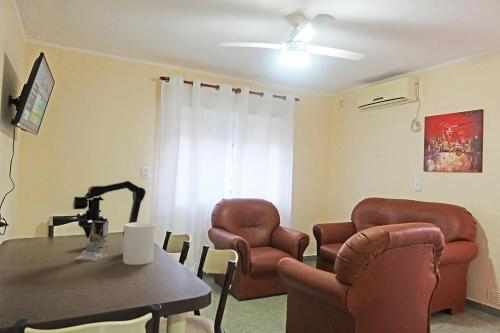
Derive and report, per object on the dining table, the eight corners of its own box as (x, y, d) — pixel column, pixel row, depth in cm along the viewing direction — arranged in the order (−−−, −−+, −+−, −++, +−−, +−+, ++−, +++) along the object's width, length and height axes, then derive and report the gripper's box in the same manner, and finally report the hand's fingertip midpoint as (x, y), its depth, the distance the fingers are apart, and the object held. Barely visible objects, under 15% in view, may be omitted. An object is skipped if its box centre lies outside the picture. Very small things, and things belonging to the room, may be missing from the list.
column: (98, 254, 190) (98, 242, 190) (93, 256, 186) (93, 243, 186) (90, 254, 191) (91, 241, 191) (85, 256, 186) (86, 243, 186)
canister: (144, 265, 176) (145, 227, 177) (116, 263, 180) (118, 225, 180) (158, 258, 192) (159, 223, 192) (133, 255, 195) (134, 221, 195)
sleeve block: (107, 255, 194) (108, 248, 194) (95, 261, 182) (95, 253, 182) (88, 254, 195) (88, 247, 195) (75, 259, 183) (75, 252, 183)
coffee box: (108, 245, 218) (109, 220, 219) (102, 247, 212) (103, 222, 212) (94, 244, 219) (95, 219, 220) (89, 246, 213) (90, 221, 213)
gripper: (90, 206, 199) (89, 232, 199) (69, 209, 181) (68, 238, 180) (108, 207, 198) (107, 233, 197) (88, 210, 179) (87, 240, 179)
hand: (92, 236), depth 189 cm, fingers open, 9 cm apart
